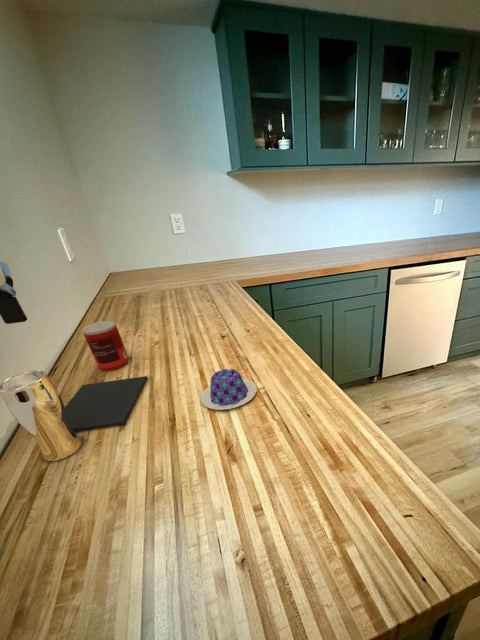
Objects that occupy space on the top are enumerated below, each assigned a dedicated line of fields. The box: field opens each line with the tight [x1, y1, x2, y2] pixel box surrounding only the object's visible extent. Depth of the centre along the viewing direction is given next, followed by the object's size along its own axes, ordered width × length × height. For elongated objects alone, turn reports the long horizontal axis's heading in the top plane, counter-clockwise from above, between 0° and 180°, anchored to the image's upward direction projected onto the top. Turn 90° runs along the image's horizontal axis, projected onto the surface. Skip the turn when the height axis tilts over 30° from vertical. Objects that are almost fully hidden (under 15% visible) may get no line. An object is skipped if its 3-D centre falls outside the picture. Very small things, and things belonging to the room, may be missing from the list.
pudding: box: [200, 368, 258, 411], centre depth 71 cm, size 12×12×5 cm
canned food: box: [82, 320, 129, 372], centre depth 88 cm, size 8×8×11 cm
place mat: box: [64, 375, 148, 433], centre depth 74 cm, size 15×18×1 cm
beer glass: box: [0, 369, 82, 462], centre depth 58 cm, size 7×7×15 cm
